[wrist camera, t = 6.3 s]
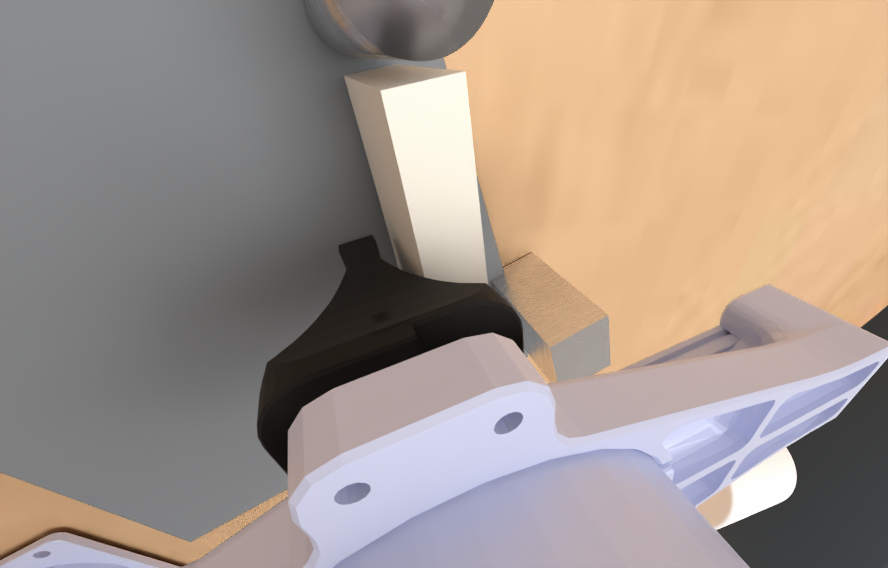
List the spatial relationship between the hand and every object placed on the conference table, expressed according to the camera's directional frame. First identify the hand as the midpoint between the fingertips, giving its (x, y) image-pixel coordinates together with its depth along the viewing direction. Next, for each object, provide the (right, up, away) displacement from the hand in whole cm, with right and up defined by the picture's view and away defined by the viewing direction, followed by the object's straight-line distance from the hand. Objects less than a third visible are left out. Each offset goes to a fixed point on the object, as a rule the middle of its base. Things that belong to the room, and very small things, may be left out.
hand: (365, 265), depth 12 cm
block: (+2, +1, +1) cm, 2 cm away
